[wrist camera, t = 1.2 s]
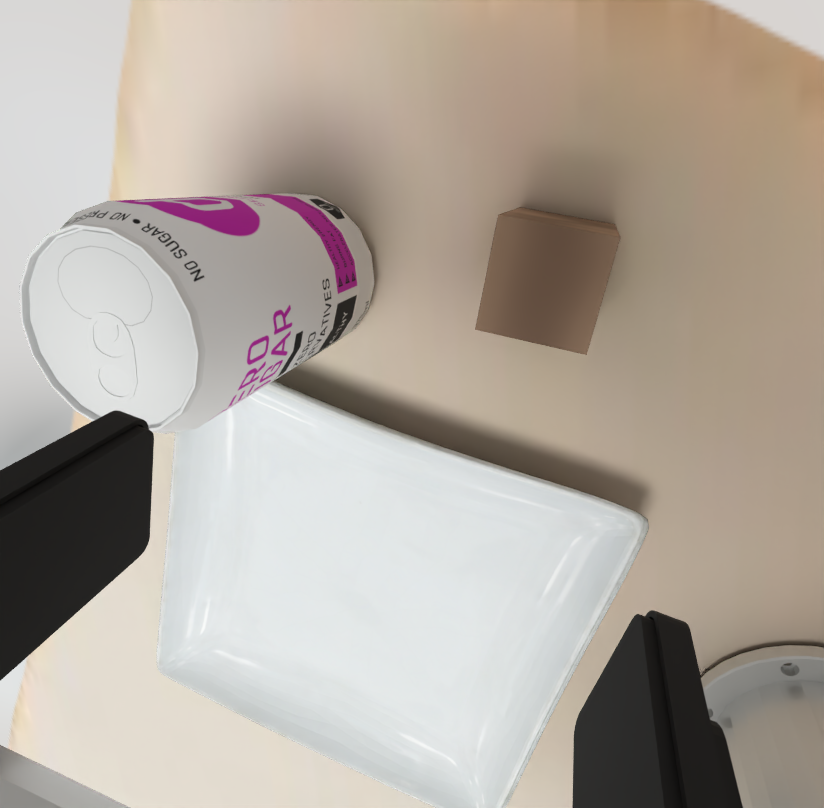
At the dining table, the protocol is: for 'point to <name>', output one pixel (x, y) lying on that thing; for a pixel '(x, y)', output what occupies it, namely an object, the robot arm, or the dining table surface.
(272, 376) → the supplement can
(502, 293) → the walnut block
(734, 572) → the dining table surface
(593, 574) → the square plate
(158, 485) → the dining table surface
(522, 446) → the dining table surface
